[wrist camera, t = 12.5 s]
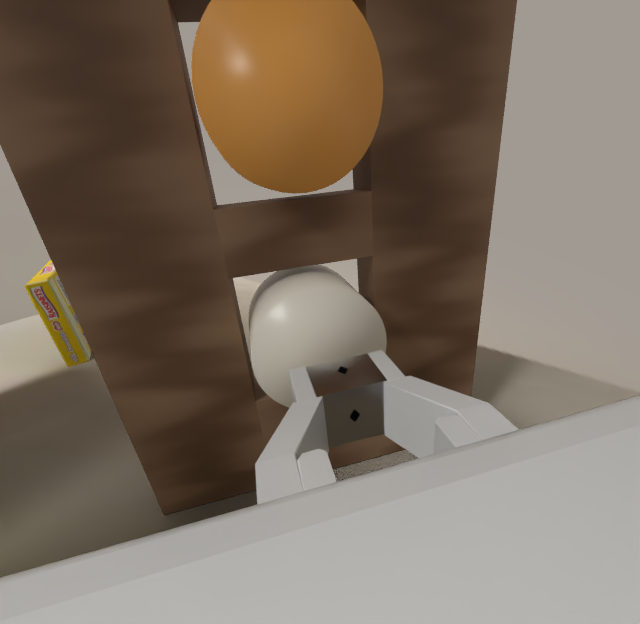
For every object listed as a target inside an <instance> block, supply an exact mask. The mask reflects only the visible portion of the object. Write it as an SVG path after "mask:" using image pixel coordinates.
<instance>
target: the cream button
mask: <svg viewBox="0 0 640 624" xmlns="http://www.w3.org/2000/svg"><path fill="white" fill-rule="evenodd" d="M249 332H250V346H251V360H252V368H253V371H254V375H255V377H256V380H257V382H258V384H259V385H260V387H261V388H262V389H263V391H264V392H265V393H266V394H267V395H268V396H269V397H271V398H272V399H273V400H275V401H276V402H278V403H280V404H282V405H284V406H286V407H289V408H290V406H291V405H292V403H294V402H293V396H292V389H291V383H290V377H289V370H291V369H295V368H300V367H305V366H310V365H315V364H320V363H325V362H330V361H335V360H336V361H338V360H342V359H346V358H350V357H354V356H358V355H363V354H366V353H370V352H374V351H378V350H382V351H384V352H386V344H387V339H386V331H385V327H384V324H383V321H382V319H381V317H380V315H379V314H378V312H377V311H376V310H375V308H374V307H373V306H372V305H371V304H370V303H369V302H368V301H367V300H366V299H365V298H364V297H363V296H361V295H360V294H359V293H358V292H357V291H356V290H355V289H354V288H353V287H352V286H351V285H350V284H349V283H348V282H347V281H345V279H343V278H342V277H341V276H340V275H339V274H338V273H336V272H335V271H333V270H331V269H329V268H327V267H325V266H321V265H312V266H305V267H299V268H292V269H286V270H280V271H277V272H275V273H274V274H272V275H271V276H269V277H268V278H267V279H266V280H265V281H264V282H263V283H262V284H261V285H260V287H259V288H258V289H257V291H256V293H255V294H254V297H253V299H252V301H251V305H250V309H249Z"/></svg>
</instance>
